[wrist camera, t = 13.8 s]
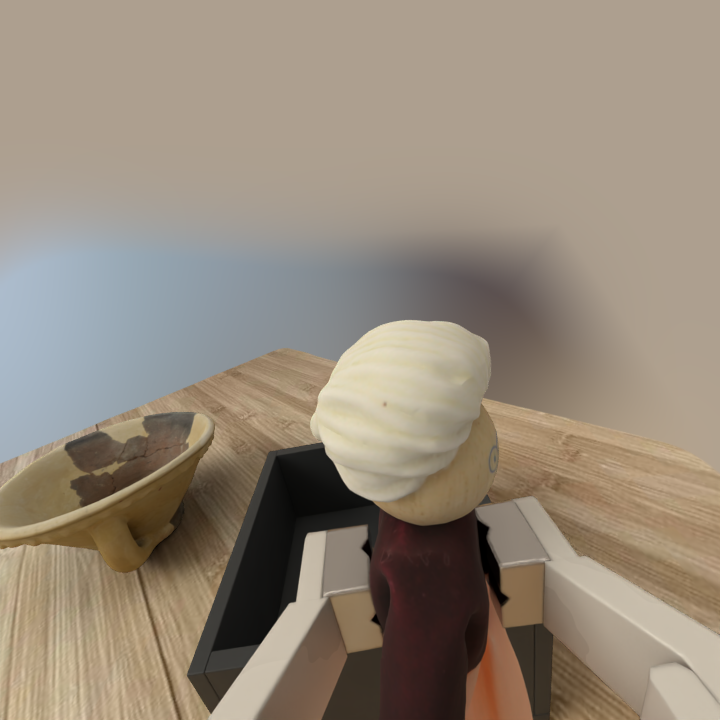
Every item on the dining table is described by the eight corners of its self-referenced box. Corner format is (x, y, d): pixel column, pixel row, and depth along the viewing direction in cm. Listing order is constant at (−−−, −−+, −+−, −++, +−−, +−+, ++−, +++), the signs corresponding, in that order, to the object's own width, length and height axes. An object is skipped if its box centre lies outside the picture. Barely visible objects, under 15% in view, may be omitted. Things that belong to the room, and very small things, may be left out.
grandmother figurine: (623, 1044, 6) (877, 470, 1) (407, 1023, 6) (109, 543, 2) (491, 597, 13) (466, 270, 9) (393, 603, 14) (323, 296, 9)
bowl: (250, 547, 30) (215, 459, 26) (-6, 675, 23) (-96, 582, 20) (232, 450, 45) (208, 387, 42) (74, 512, 39) (31, 444, 35)
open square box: (455, 493, 31) (448, 420, 28) (550, 724, 16) (554, 620, 14) (292, 520, 32) (268, 451, 29) (242, 767, 17) (185, 675, 14)
